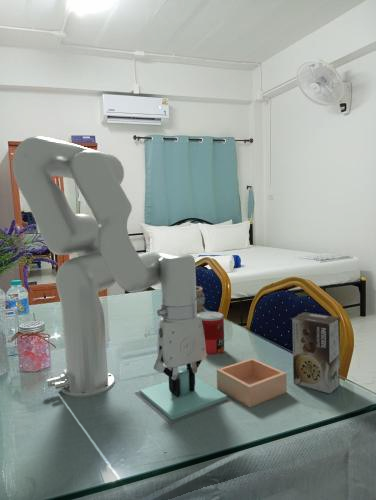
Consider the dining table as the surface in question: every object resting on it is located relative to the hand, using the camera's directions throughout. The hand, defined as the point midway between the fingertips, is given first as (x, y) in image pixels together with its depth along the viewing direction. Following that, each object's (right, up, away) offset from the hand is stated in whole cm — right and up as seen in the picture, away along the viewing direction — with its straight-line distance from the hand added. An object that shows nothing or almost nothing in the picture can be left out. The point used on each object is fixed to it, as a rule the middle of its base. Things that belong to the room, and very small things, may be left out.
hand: (182, 390), depth 86 cm
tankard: (+2, +4, +55) cm, 55 cm away
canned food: (+8, +1, +28) cm, 29 cm away
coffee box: (+31, 0, +5) cm, 32 cm away
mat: (0, -2, 0) cm, 2 cm away
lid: (0, -1, 0) cm, 1 cm away
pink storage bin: (+16, -1, +2) cm, 16 cm away
